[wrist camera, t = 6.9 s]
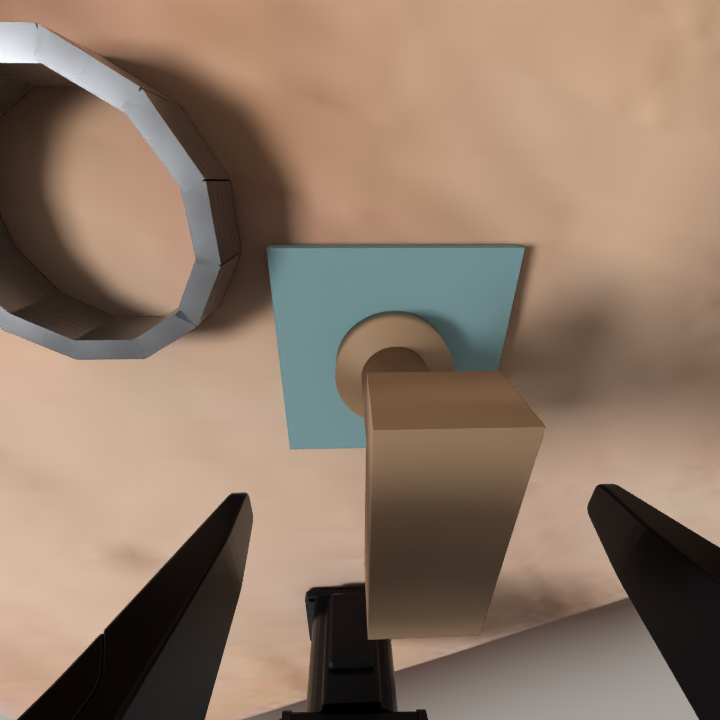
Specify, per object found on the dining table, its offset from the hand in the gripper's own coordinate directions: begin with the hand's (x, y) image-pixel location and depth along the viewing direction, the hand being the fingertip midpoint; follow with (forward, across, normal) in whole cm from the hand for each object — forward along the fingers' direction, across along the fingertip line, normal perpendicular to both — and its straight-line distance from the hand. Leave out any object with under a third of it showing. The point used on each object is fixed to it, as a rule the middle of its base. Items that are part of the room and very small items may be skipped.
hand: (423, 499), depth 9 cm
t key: (+8, 0, 0) cm, 8 cm away
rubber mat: (+8, 0, 0) cm, 8 cm away
